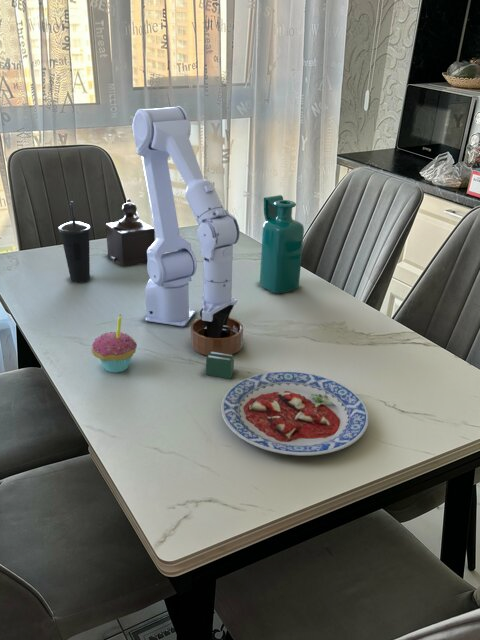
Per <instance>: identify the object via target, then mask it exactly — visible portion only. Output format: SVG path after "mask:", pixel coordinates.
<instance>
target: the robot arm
mask: <svg viewBox="0 0 480 640" xmlns="http://www.w3.org/2000/svg"><path fill="white" fill-rule="evenodd" d="M131 126H132V127H131V128H132V133H133V138H134V144H135V149H136V154H137V155H138V156H140V157H141V160H142V166H143V173H144V177H145V183H146V189H147V194H148V199H149V205H150V211H151V212H150V213H151V216H152V222H153V228H154V230H155V241H154V242H153V244H152V245H151V246H150V247H149V248H148V250H147V258H148V262H147V263H146V269H147V275H148V277H149V279H148V281H147V283H146V285H145V291H144V292H145V294H144V295H145V297H144V298H145V312H146V313H145V314H146V317H145V319H144V320H145V321H146V322H151V323H156V324H165V325H170V326H176V327H177V326H178V327H185V326H187V324H188V323H189V321H190V320H191V319H192V318H193V316H194V315H195V314H196V311H195V310H192V309H190V290H189V288H190V287H189V285H190V284H189V283H190V282H192V277H194V275H195V274H196V272H197V268H198V267H197V266H198V263H197V259H196V257H195V254H194V251H193V249H192V243H191V242H190V241H188V240H186V239H185V238H183V237H182V236H181V235H180V228H179V222H178V215H177V210H176V209H177V208H176V203H175V198H174V197H175V196H174V191H173V185H172V179H171V174H170V167H169V161H168V160H169V158H171V160H172V161H173V164H174V165H175V167H176V169H177V171H178V172H179V174H180V176H181V178H182V180H183V181H184V183H185V185H186V190H185V195H184V196H185V198H186V201H187V203H188V205H189V208H190V210H191V213H192V214H193V216H194V218H195V220H196V223H197V226H198V229H197V230H196V235H197V240H198V243H199V245H200V254H201V257H203V276H202V277H203V279H202V280H203V293H202V294H203V295H202V308H201V309H200V311H199V317H200V318H202V320H203V321H204V323H205V326H206V329H207V332H208V336H209V337H210V338H221V335H222V329H223V325H225V326H226V325H227V321H228V318H229V317H230V315H231V313H232V310H233V308H234V306H235V305H237V303H238V299H237V297H236V298H235V297H233V295H232V294H233V293H232V292H233V291H232V287H233V258H234V257H233V256H234V255H233V254H234V253H233V252H234V249H233V248H234V245H236V244H237V243H238V242H239V239H240V233H241V231H240V230H241V229H240V226H239V223H238V220H237V218H236V216H234V215H233V214H231V213H230V212H229V210H227V209H225V207H224V206H223V204H222V202H221V200H220V197H219V195H218V193H217V191H216V188H215V187H214V185H213V183H212V181H210V180H207V179H205V178H204V176H203V173H202V171H201V170H202V169H201V167H200V165H199V162H198V159H197V157H196V154H195V151H194V149H193V145H192V143H191V140H190V138H191V131H192V129H191V128H192V125H191V123H190V120H189V117H188V114H187V112H186V110H185V109H184V108H183V107H182V106H180V105H176V106H171V107H159V108H139V109H137V111H136V112H135V114H134V116H133V120H132V123H131Z"/></svg>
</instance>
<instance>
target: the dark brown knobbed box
mask: <svg viewBox="0 0 480 640" xmlns="http://www.w3.org/2000/svg"><path fill="white" fill-rule="evenodd" d="M121 210H122V213H123V214H124V217H123V218H121V219H116V221H114V222H107V223H105V236H106V237H105V238H106V247H107V257H108V258H110V259H111V260H112V261H114V263H117V264H118V265H121V266H122V267H129V266H135V265H141V264H147V263H148V258H147V250H148V248H149V247H150V246H151V245H152V244H153V242H154V241H155V240H156V234H155V229H154V226H151V225H150V224H148V223H146V222H144V221H142V220H141V219H140V214H139V213H138V207H137V205H136V204H135V203H133V202H132V200H131V199H130V198H127V199H126V203H123V204H122V206H121ZM134 216H135V217H134Z"/></svg>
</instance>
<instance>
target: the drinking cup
mask: <svg viewBox="0 0 480 640" xmlns="http://www.w3.org/2000/svg"><path fill="white" fill-rule="evenodd" d="M69 204H70V212H71V221H69V222H66V223H63V224H61V225H60V226H58V231H59V233H60V236H61V242H62V246H63V250H64V255H65V259H66V260H65V261H66V264H67V268H68V273H69V279H70V281H71V282H73V283H80V284H81V283H86V282H89V280H90V279H91V278H90V277H91V271H90V270H91V267H90V265H91V264H90V262H91V261H90V260H91V259H90V231H91V226H90V224H88V223H84V222H82V221H76V217H75V207H74V201H73V200H70V201H69Z"/></svg>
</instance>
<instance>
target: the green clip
mask: <svg viewBox="0 0 480 640" xmlns="http://www.w3.org/2000/svg"><path fill="white" fill-rule="evenodd" d="M234 373H235V355H233V354H231V355H229V354H223V353H217V352H210V353H209V355H208V356H207V355H206V357H205V375H206V376H209V377H210V376H211V377H216V378H222V379H229V380H231V378H232V377H233V375H234Z"/></svg>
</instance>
